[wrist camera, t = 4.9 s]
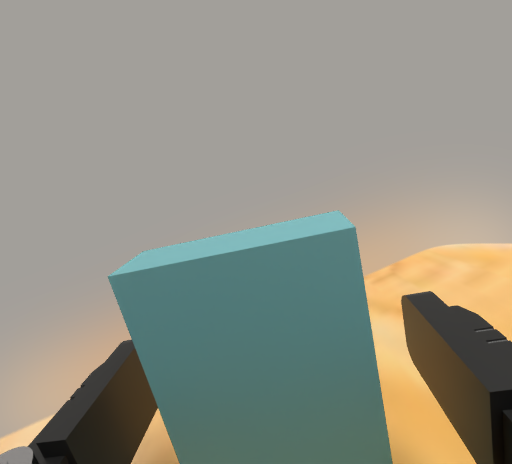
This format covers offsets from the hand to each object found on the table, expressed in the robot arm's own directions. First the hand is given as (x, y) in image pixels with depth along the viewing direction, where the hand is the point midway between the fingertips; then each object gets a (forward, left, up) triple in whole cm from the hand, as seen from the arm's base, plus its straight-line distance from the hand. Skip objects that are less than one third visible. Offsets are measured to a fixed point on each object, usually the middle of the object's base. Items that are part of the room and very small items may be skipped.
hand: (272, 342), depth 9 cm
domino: (+1, -2, -6) cm, 6 cm away
